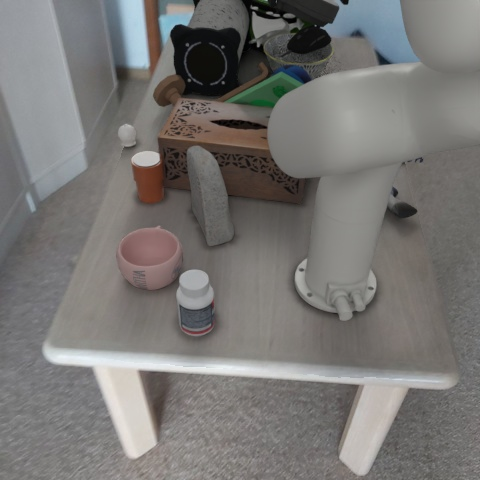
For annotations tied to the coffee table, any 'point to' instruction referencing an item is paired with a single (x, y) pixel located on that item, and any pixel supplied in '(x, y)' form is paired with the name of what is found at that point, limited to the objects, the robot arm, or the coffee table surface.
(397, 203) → the fish
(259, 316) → the coffee table surface
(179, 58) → the speaker
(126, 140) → the decorative object set
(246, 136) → the tissue box cover
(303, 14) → the motorcycle dashboard
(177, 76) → the toilet paper hanger
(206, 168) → the decorative stone
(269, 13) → the toy tank
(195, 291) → the pill bottle
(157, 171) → the orange cylinder
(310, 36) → the gaming mouse
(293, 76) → the bomb
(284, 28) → the figurine
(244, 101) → the toy
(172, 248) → the mug
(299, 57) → the bowl
